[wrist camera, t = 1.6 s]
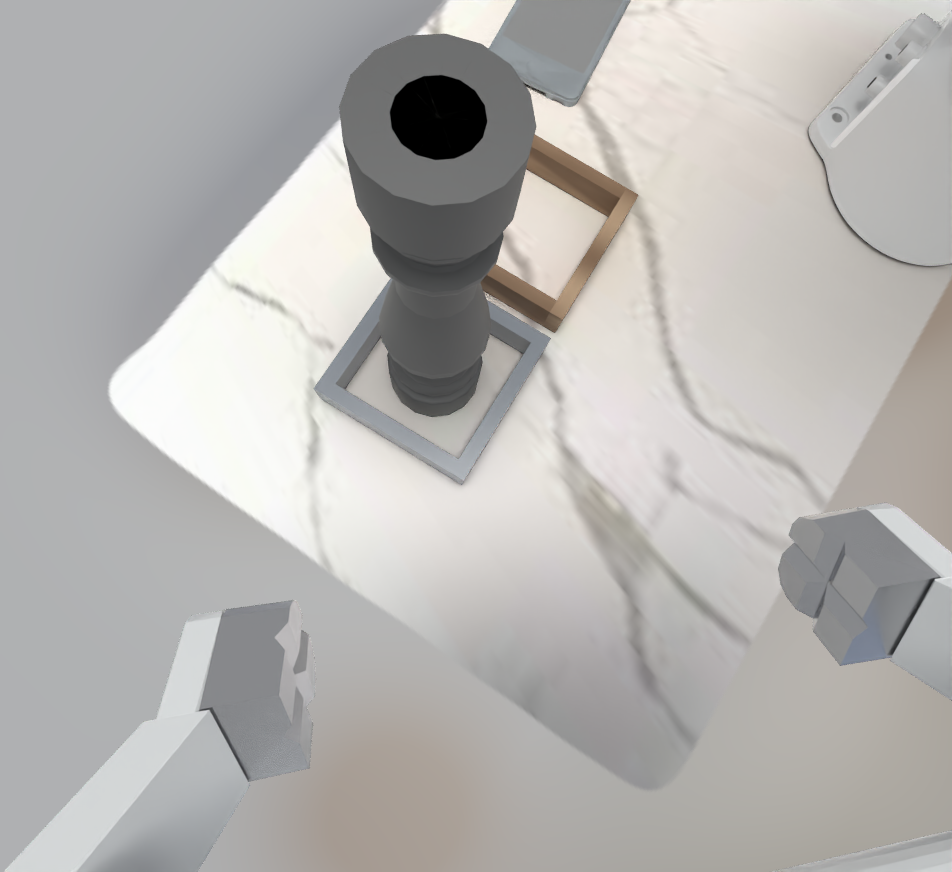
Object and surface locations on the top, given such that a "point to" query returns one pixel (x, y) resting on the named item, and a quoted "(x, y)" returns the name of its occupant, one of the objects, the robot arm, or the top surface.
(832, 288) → the top surface
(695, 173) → the top surface
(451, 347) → the candle holder
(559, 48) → the phone
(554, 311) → the walnut frame
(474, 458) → the charcoal frame
